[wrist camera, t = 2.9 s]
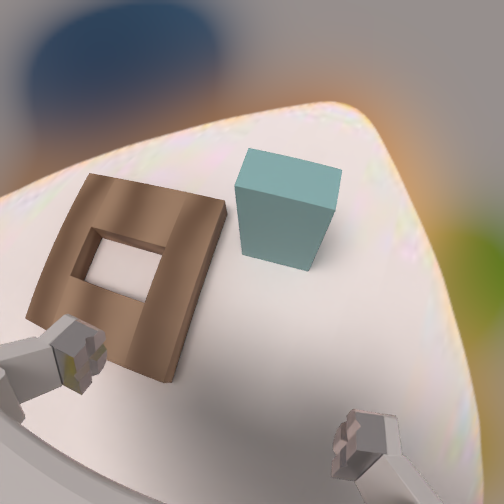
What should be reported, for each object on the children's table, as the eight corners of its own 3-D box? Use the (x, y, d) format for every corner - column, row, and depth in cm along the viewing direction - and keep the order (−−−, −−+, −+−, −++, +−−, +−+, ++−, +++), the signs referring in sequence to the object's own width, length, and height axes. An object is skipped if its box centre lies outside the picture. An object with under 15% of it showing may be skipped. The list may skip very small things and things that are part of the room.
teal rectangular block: (314, 241, 29) (342, 169, 19) (308, 271, 28) (335, 210, 18) (251, 225, 30) (248, 148, 20) (242, 254, 29) (234, 185, 19)
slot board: (227, 214, 30) (224, 200, 28) (171, 382, 25) (163, 382, 22) (98, 185, 32) (89, 173, 30) (39, 323, 27) (25, 318, 24)
